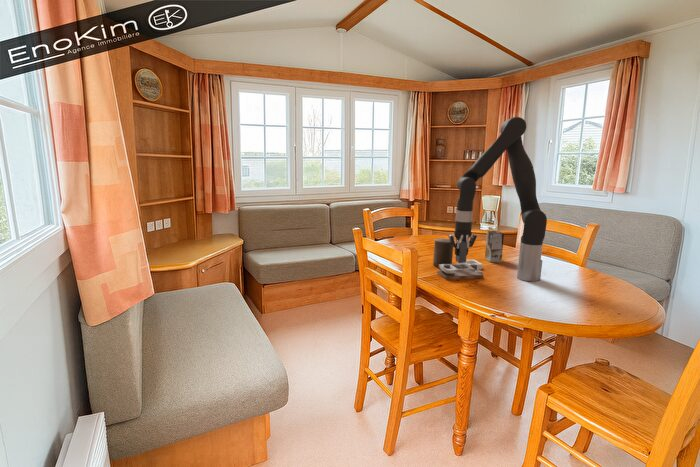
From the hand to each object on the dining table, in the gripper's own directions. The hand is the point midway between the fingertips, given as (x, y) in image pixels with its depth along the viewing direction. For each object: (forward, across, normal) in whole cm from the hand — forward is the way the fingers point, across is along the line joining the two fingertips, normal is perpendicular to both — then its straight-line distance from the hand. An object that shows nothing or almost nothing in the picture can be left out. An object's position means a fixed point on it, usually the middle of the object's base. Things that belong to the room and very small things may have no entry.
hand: (461, 255), depth 178 cm
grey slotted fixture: (+10, 0, 0) cm, 10 cm away
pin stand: (+10, +12, +13) cm, 20 cm away
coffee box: (+10, +31, +23) cm, 40 cm away
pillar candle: (+10, -1, +17) cm, 20 cm away
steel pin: (+3, 0, 0) cm, 3 cm away
